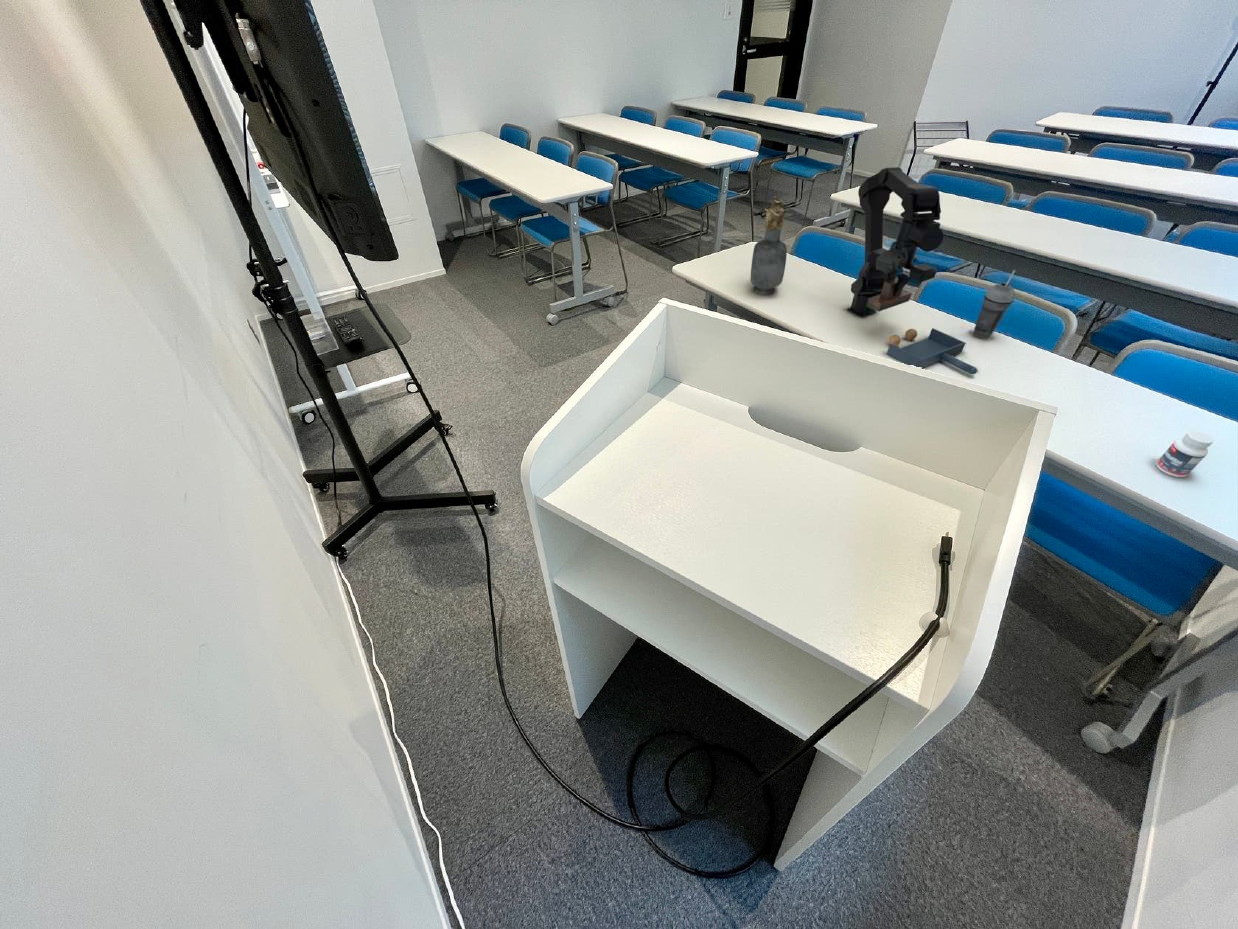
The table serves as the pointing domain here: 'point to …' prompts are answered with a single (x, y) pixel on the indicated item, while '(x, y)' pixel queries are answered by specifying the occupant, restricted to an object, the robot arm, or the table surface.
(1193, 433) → the pill bottle
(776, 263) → the grey tall bottle-shaped piece
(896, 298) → the brush
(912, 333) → the brown rounded piece
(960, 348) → the dustpan
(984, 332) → the beverage cup
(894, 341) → the light brown ball
